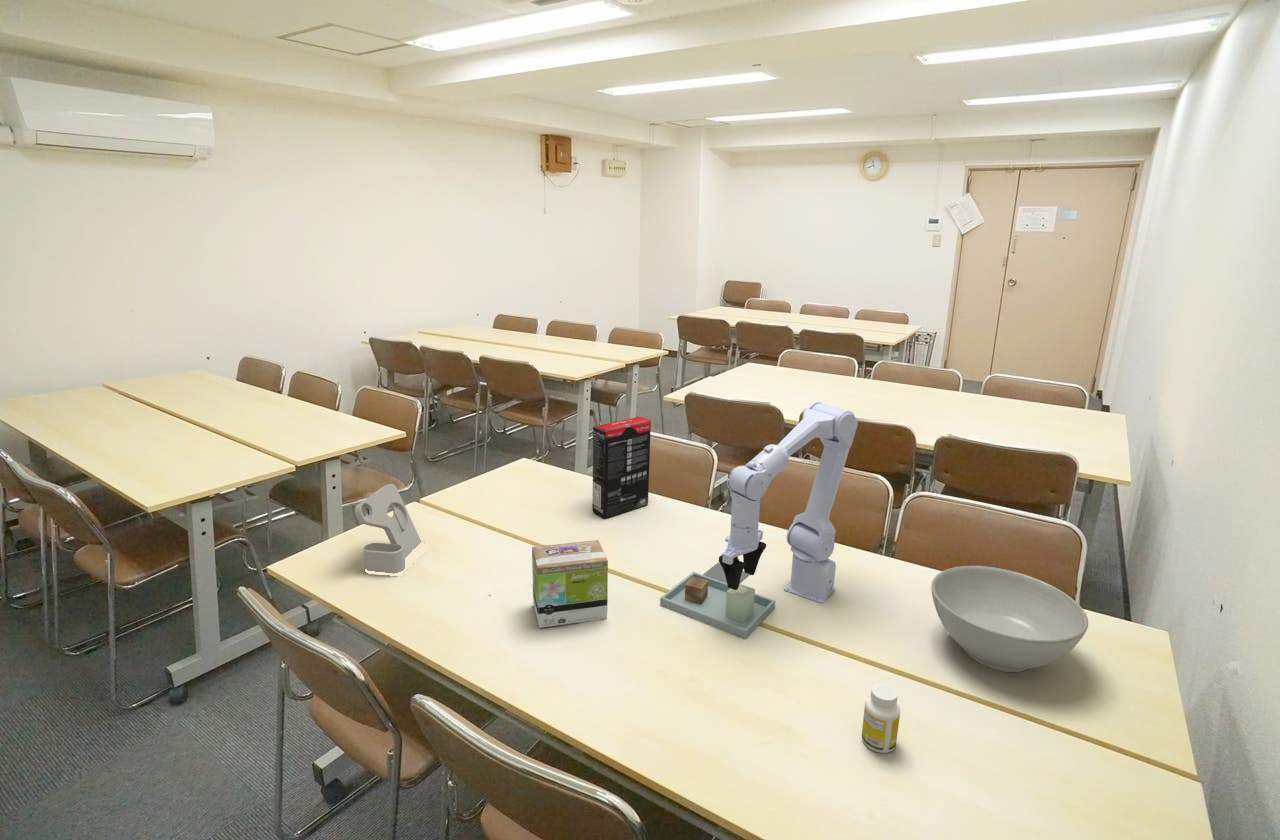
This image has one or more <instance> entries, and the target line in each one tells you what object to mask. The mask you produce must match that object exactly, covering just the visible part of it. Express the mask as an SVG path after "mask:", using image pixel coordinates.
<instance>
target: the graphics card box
mask: <svg viewBox="0 0 1280 840" xmlns="http://www.w3.org/2000/svg"><path fill="white" fill-rule="evenodd" d="M651 421H652V420H650V419H649V418H646V417H643V416H636V417H632V418H628V419H623V420H622V419H621V420H618V421H617V420H616V421H613V422H609V423H608V422H607V423H604V424H599V425H593V426H592V428H593V429H592V433H593V434H592V512H593V513H595V514H597V515H598V516H600V517H602V518H603V519H607V518H610V517H613V516H616V515H619V514H622V513H626V512H629V511H632V510H636V509H640V508H643V507H646V506H648V505H649V489H650V487H649V484H650V482H649V481H650V460H651V459H650V456H651V455H650V454H651V453H650V452H651V433H652V431H651V430H652V429H651V427H652V422H651Z"/></svg>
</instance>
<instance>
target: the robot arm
mask: <svg viewBox="0 0 1280 840" xmlns="http://www.w3.org/2000/svg"><path fill="white" fill-rule="evenodd" d="M858 426H859V421H858V420H857V418H856V416H855V413H854V412H853V411H851V410H845V409H843V408H839V407H835V406H832V405H829V404H824V403H822V402H820V401H814V402H813V403H811V404H809V407H808V408H806V409H805V410H804V411H803V413H802V419H801V421H800V422H798V423H797V425H795V427H793V428H792V430H791V431H790V432H788V434H786V435H785V436H784V438H782V440H780V442H779V443H778V444H772V443H771V444H768V445H766V446H765V447H763V450H762V451H760V452H759V453H757V454H756V455H755V456H754V457H753V458H752V459H751V460H750V461H748V462H747V463H746V464H745V465H738V466H736V467H733V469H732V470H731V471H730V473H729V475H728V479H726V486H727V488H728V489H729V492H730V498H731V514H730V515H731V516H730V534H729V535H727V536H726V537H725V538H724V541H725V542H726V543H727V545H726V548H725V551H724V552H723V553H722V554H721V555H720V556H719V557H718V563H720V565H721V566H722V568H723V570H724V573H725V577H726V581H727V585H728V588H730V589H733V590H737V589H738V587H739V584H741V583H740V578H741V574H742V571H744V572H745V573H747V574H750V575H751V576H755V574H756V570H757V567H758V565H759V560H760V558H761V556H762V554H763V553H764V551H765V549H766V548H767V543H765V542H763V541H761V540H762V539H763V537H764V536H763V534H764V531H763V530H761V529H759V525H760V524H759V522H760V508H761V498H762V497H764V496H765V494H766V492H767V490H768V487H769V485H771V482H772V480H773V479H774V478H775V477H776V476H777V475H779V474H780V473H781V472H782V471H783V470H784V469H785V468H787V466H788V465H789V461H790V460H789V459H790V457H791V456H792V455H793V454H795V453H796V452H797V451H799V450H800V449H801V448H803V447H804V446H806V445H807V444H808V443H810V442H811V441H812V440H813V439H820V441H821V443H822V446H823V451H822V454H821V457H820V459H819V463H818V468H817V470H816V474H815V477H814V480H813V484H812V487H811V490H810V494H809V498H808V499H807V500H808V501H807V504H806V508H805V511H804V512H802V513H799V514H796V515H795V516H794V518H793V521H792V523H791V525H790V526H789V528H788V530H787V531H786V532H787V534H786V542H787V544H788V545H789V546H790V551H791V552H792V561H791V563H792V564H791V574H790V582H788V583H787V584H786V585H785V586H784V587H783V591H784V592H788V593H791V594H793V595H796V596H799V597H802V598H805V599H808V600H810V601H811V600H812V601H813V602H817V603H820V604H823V603H824V602H826V600H827V598H829V596H830V595H831V594H832V593H833V591H834V590H835V576H836V569H837V568H836V567H837V566H836V565H837V564H836V562H835V561H834V560H832V559H830V557H831V556H832V554H834V553H833V552H834V550H835V537H836V533H837V530H836V528H835V527H834V524H832V523H833V522H832V521H831V520H830V515H831V511H832V509H833V505H834V502H835V498H836V495H837V493H838V489H839V485H840V482H841V479H842V476H843V475H842V474H843V472H844V468H845V466H846V462H847V458H848V455H849V452H850V449H851V448H852V446H853V445H852V444H853V443H854V438H855V434H856V432H857V428H858ZM739 556H742V558H743V559H742V560H743V561H740V558H739ZM750 575H749V576H750Z"/></svg>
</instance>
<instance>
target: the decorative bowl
mask: <svg viewBox="0 0 1280 840" xmlns="http://www.w3.org/2000/svg"><path fill="white" fill-rule="evenodd" d="M930 588H931V590H930V591H931V596H932V601H933V605H934V608H935V610H936V611H935V612H936V613H937V616H938V618H939V620H940V622H941V624H942V625H943V627H944V628H945V630H946V632H947V633H948V634H949V636H951V638H952V639H953V640H954V641H955V642H956V643H957V644H958V645H959V646H960V647H962V648H963V650H964V652H965V653H966V654H967V655H968V656H969V657H970V658H971V659H973V660H974V661H975V662H976V663H979V664H980V665H983V666H984V667H986V668H990V669H992V670H996V671H1000V672H1005V673H1021V672H1025V671H1027V670H1029V669H1035V668H1040V667H1043V666H1046V665H1049V664H1051V663H1054V662H1056V661H1058V660H1059V659H1061V658H1063V657H1064V656H1066V655H1067V654H1069V652H1071V651H1072V650H1073V649H1074V648H1075V647H1076V646H1077V645H1078V644H1079V642H1080V641H1081V640H1082V639H1083V637H1084V636H1085V634H1086V632H1087V630H1088V628H1089V619H1088V616H1087V613H1086V611H1085V610H1084V609H1083V607H1082V606H1081V605H1080V604H1079V603H1078V602H1077V601H1076V600H1074V599H1073V598H1072V597H1071V596H1070V595H1068V594H1067V593H1065V592H1064V591H1062V590H1061V589H1059V588H1057V587H1056V586H1053V585H1052V584H1050V583H1048V582H1045V581H1043V580H1040V579H1038V578H1036V577H1034V576H1030V575H1027V574H1024V573H1020V572H1018V571H1013V570H1009V569H1004V568H999V567H994V566H987V565H986V566H985V565H960V566H954V567H951V568H947V569H944V570H942V571H940V572H939V573H937V574H936V575H935V576H934V577H933V579H932V581H931V587H930Z"/></svg>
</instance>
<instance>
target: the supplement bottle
mask: <svg viewBox="0 0 1280 840" xmlns="http://www.w3.org/2000/svg"><path fill="white" fill-rule="evenodd" d="M864 703H865V704H864V711H863V718H862V719H863V720H862V726H861V727H862V728H861V739H862V742H863V744H864V745H865V746H866V747H867V748H868V749H870V750H871V751H873V752H877V753H880V754H887V753H890V752H892V751H895V749H896V746H897V740H898V732H899V726H900V724H899V723H900V716H901V708H900V706H899V704H898V692H897V690H896V689H895V688H894V687H892V686H890V685H889V684H885V683H876V684H874V685H872V686H871V689H870V695H869V696H868V697H867V698H866V700H865V702H864Z"/></svg>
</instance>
